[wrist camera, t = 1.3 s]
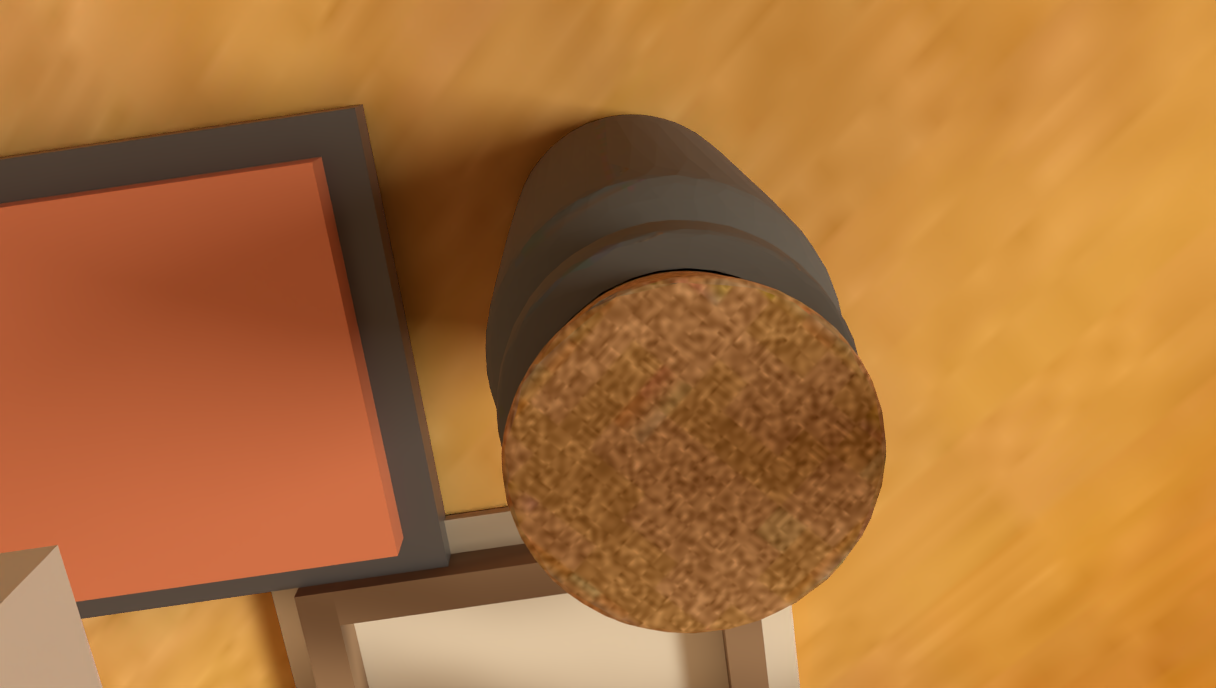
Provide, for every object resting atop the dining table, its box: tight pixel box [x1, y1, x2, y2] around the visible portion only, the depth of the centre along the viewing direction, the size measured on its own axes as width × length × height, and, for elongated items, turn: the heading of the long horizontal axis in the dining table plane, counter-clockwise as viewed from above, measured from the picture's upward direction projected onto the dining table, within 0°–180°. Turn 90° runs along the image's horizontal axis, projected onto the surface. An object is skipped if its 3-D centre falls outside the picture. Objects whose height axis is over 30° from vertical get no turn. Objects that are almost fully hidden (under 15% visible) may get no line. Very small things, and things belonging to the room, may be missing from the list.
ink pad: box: [0, 104, 451, 619], centre depth 27 cm, size 12×12×2 cm
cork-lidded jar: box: [486, 115, 886, 633], centre depth 21 cm, size 6×6×15 cm
